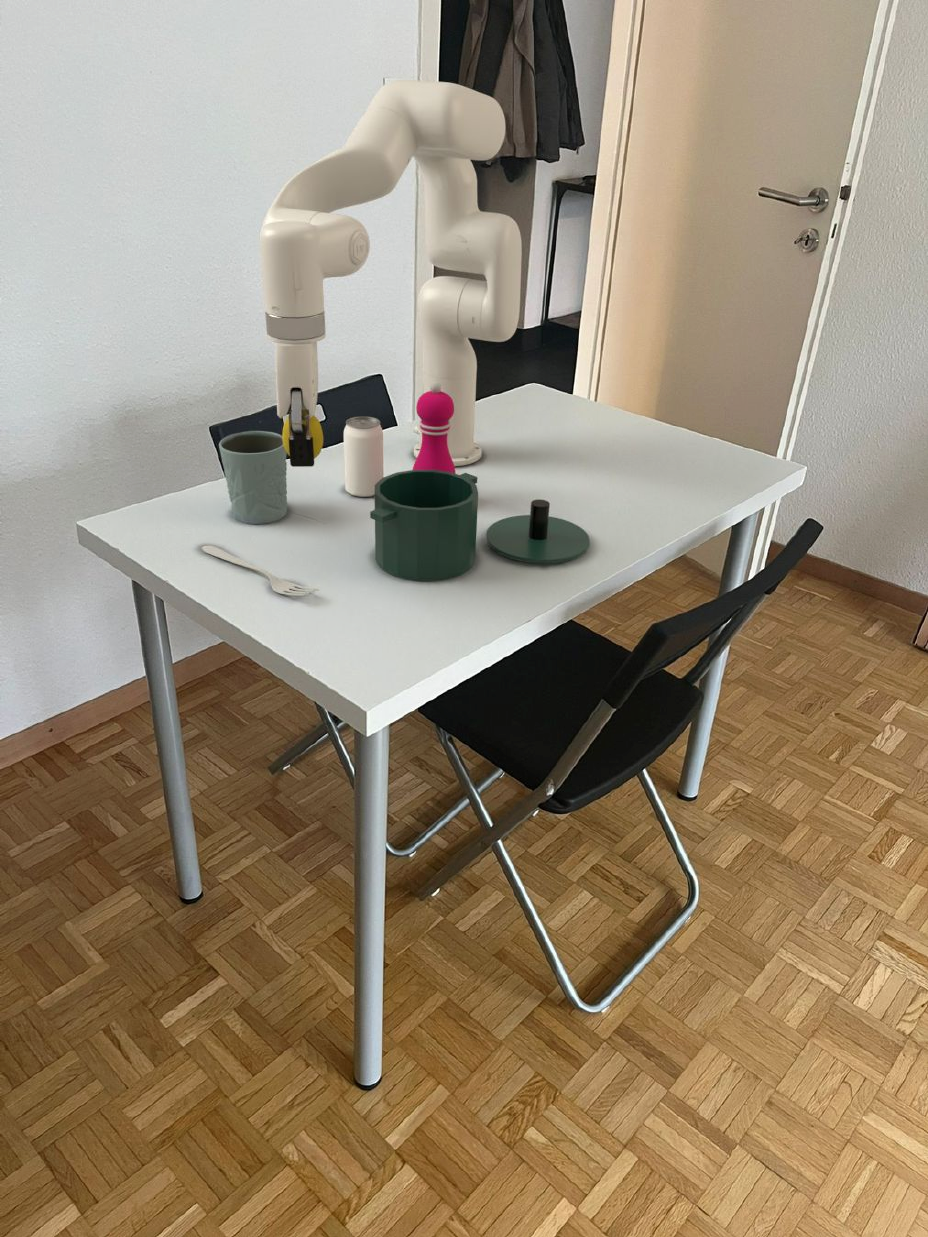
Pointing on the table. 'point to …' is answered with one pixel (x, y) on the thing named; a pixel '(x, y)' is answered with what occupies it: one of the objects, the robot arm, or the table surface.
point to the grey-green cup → (255, 475)
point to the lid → (537, 536)
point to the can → (363, 455)
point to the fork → (276, 583)
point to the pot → (425, 524)
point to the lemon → (315, 433)
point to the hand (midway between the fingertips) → (304, 455)
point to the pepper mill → (434, 430)
